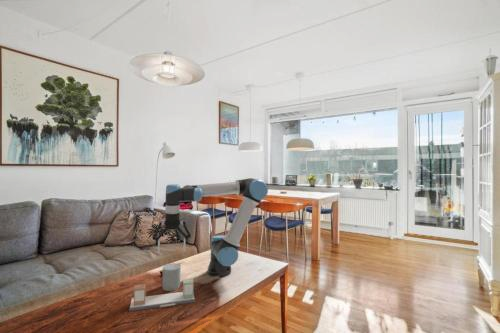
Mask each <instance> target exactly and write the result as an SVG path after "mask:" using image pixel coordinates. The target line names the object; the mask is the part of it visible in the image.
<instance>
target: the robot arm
mask: <svg viewBox="0 0 500 333" xmlns="http://www.w3.org/2000/svg"><path fill="white" fill-rule="evenodd" d="M165 187H166V188H165V206H164V207H165V216H164V217H165V218H164V221H159V222H158V226H157V228H156V230H155V232H154V233H153V236H152V237H151V239H152V240H153V241H155V246H156V247H157V254H159V253H160V249H161V248H160V245H161V244H160V243H161V242H160V240H161V238H162V236H163V235H164V234H165V233H166V232H167V231H171V230H172V231H173V230H174V231H175V230H177V231H178V232H179V233H180V234H181V235H182V236H183V252H184V251H186V245H188V242H189V241H188V240H189V238H192V235H191V232H190V230H189V229H188V227H187V225H186V220H181V221H180V215H181V214H180V213H181V212H180V210H181V206H180V204H181V203H184V202H200V201H202V198H203V197H204V198H205V197H214V196H222V195H223V196H224V195H237V196H239V195H241V197H242V201H241V203H240V205H239V208H238V210H237V212H236V214H235V217H234V219H233V221H232V223H231V225H230V227H229V229H228V232H227V234H224V235H222V234H221V235H213V236H212V237H211V239H210V261H209V264H208V266H207V274H208V275H210V276H212V277H219V278H221V277H225V276H229V275H230V274H232V266H233V265H234V264H236V262H237V261H238V259H239V250H240V247H241V245H240V244H241V243H240V241H241V238H242V236H243V235H244V233H245V230H246V228H247V225H248V224H249V221H250V220H251V219H250V218H251V217H252V215H253V212H254V211H255V209H256V206H258V205H260V204H261V202H262V200H263V199H265V198H266V197H267V195H268V192H269V189H268V184H266V182H265V181H263V180H262V179H259V178H252V177H250V178H243V179H236V180H235V181H231V182H230V181H229V182H219V183H207V184H205V183H204V184H195V185H189V184H187V185H184V186H183V187H181V185H180V184H177V183H172V184H171V183H170V184H167V185H166V186H165ZM180 225H181V226H183V228H184V230H185V232H184V231H183V230H182V228H180ZM163 226H165V227H163ZM161 227H163V229H162V228H161ZM161 229H162V230H161ZM160 230H161V232H160ZM158 233H159V234H158Z"/></svg>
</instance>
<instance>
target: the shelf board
mask: <svg viewBox="0 0 500 333" xmlns="http://www.w3.org/2000/svg"><path fill="white" fill-rule="evenodd" d="M189 303H190V304H191V303H196V299H195V295H194V293H193V298H188V299H183V291H180V292H172V293H171V292H170V293H164V294H163V293H162V294H154V295H149V296H146V299H145V304H143V305H136V306H134V297H132V298H131V301H130V306H129V307H128V312H133V311H134V312H135V311H142V310H147V309H148V310H149V309H157V308H163V307H172V306H176V305H184V304H189Z"/></svg>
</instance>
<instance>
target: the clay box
mask: <svg viewBox="0 0 500 333" xmlns="http://www.w3.org/2000/svg"><path fill="white" fill-rule="evenodd" d="M146 288H147V287H146V283H144V284H135V285H134V287H133V298H134V306H136V305H143V304H145V299H146V292H147V291H146V290H147V289H146Z"/></svg>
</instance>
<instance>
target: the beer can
mask: <svg viewBox="0 0 500 333" xmlns="http://www.w3.org/2000/svg"><path fill="white" fill-rule="evenodd" d="M161 281H162V284H161V285H162V290H163V291H167V292H173V291H177V290H178V289H180V288H181V287H180V286H181V264H179V263H173V262H172V263H167V264H164V265H163V266H162V280H161Z"/></svg>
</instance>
